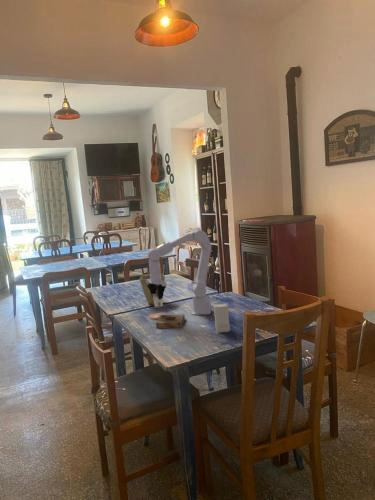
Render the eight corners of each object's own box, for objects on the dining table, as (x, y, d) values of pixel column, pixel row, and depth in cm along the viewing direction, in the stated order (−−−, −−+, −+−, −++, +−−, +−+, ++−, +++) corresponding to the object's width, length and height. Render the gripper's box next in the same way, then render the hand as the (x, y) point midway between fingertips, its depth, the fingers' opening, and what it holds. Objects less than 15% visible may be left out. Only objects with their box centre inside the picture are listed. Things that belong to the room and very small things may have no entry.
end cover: (164, 304, 199) (162, 291, 198) (162, 306, 194) (160, 293, 193) (155, 306, 199) (153, 293, 199) (153, 308, 194) (151, 294, 194)
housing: (184, 319, 192) (184, 314, 192) (181, 327, 180) (180, 322, 180) (161, 319, 194) (161, 315, 194) (156, 327, 182) (156, 322, 182)
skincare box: (228, 328, 174) (226, 303, 172) (230, 332, 170) (228, 305, 168) (215, 330, 174) (213, 304, 172) (216, 333, 169) (215, 307, 168)
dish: (168, 313, 203) (167, 312, 203) (164, 319, 194) (164, 318, 194) (151, 314, 204) (151, 313, 204) (147, 319, 196) (147, 318, 195)
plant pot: (171, 302, 224) (169, 276, 222) (148, 307, 217) (145, 280, 215) (160, 297, 237) (158, 272, 235) (138, 302, 230) (135, 276, 228)
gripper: (140, 272, 197) (142, 297, 199) (157, 275, 187) (160, 301, 189) (151, 269, 202) (153, 294, 204) (168, 272, 191) (170, 298, 193)
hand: (157, 297), depth 197 cm, fingers closed on end cover, 5 cm apart
